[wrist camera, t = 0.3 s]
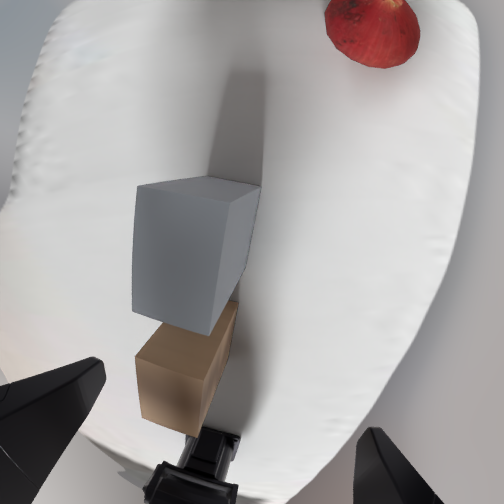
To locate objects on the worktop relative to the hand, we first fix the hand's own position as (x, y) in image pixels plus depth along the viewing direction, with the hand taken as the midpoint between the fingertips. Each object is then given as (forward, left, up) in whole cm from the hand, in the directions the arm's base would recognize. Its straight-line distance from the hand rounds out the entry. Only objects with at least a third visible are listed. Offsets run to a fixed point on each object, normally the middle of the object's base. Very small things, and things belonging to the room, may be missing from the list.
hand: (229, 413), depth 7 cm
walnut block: (-7, +4, -14) cm, 16 cm away
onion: (+17, -3, -14) cm, 22 cm away
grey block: (+2, +4, -14) cm, 14 cm away
